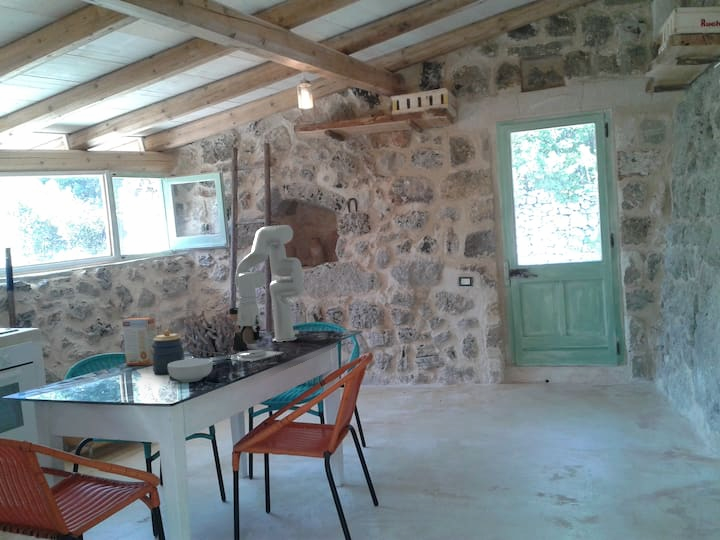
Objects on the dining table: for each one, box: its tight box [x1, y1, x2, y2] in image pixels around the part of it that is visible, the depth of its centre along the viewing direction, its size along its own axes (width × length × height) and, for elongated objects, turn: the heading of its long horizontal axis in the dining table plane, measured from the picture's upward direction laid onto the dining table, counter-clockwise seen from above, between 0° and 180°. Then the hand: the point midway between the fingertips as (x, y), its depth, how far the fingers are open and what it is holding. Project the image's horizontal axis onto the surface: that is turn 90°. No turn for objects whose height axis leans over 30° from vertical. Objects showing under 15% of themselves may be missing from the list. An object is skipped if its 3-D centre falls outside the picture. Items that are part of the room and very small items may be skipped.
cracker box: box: [122, 317, 157, 367], centre depth 290 cm, size 14×6×21 cm, turn 65°
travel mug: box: [228, 307, 248, 351], centre depth 315 cm, size 8×8×20 cm
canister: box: [151, 329, 186, 376], centre depth 268 cm, size 13×13×18 cm
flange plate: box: [230, 349, 284, 363], centre depth 292 cm, size 20×20×2 cm
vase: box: [243, 326, 258, 345], centre depth 292 cm, size 7×7×9 cm
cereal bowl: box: [168, 358, 213, 383], centre depth 249 cm, size 17×17×7 cm
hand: (250, 339), depth 292 cm, fingers closed on vase, 6 cm apart
